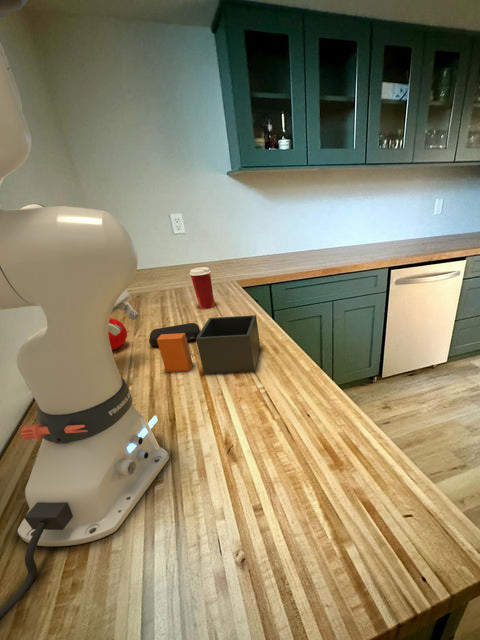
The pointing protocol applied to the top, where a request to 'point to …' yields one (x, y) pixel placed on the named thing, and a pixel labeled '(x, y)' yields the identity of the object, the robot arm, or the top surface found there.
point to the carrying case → (175, 332)
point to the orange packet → (175, 352)
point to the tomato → (118, 339)
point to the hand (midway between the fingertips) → (128, 324)
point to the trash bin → (229, 344)
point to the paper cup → (203, 286)
